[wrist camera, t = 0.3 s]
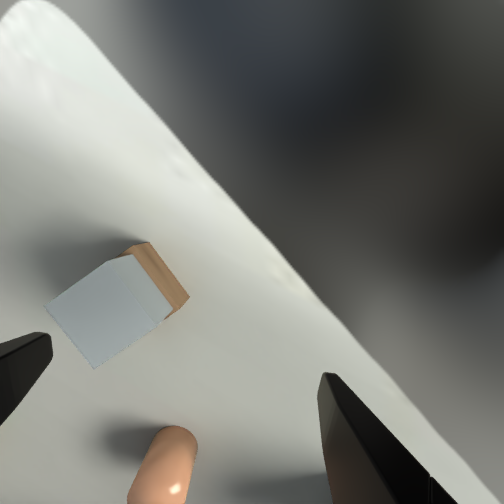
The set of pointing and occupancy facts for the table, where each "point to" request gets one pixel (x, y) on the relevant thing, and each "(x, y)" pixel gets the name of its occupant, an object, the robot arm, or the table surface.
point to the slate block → (109, 309)
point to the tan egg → (165, 468)
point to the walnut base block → (159, 274)
